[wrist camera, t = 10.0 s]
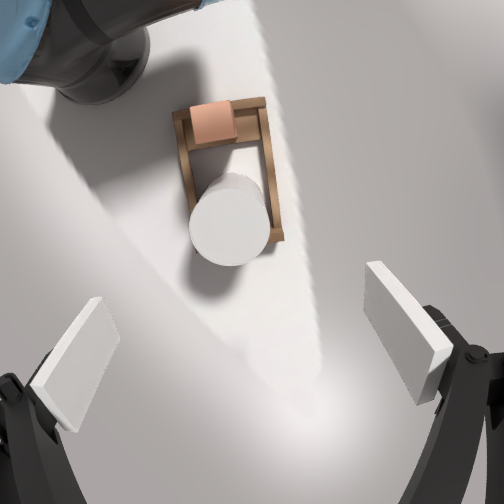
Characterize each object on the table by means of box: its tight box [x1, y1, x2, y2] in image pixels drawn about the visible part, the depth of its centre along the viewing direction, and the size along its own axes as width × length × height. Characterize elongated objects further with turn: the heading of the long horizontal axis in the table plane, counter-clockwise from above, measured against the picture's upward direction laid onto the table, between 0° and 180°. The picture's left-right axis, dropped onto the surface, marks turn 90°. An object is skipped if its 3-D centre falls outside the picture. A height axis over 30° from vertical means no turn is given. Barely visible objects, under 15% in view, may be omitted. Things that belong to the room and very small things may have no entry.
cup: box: [189, 173, 270, 266], centre depth 36 cm, size 8×8×12 cm
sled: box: [172, 97, 284, 253], centre depth 34 cm, size 19×12×13 cm, turn 8°
